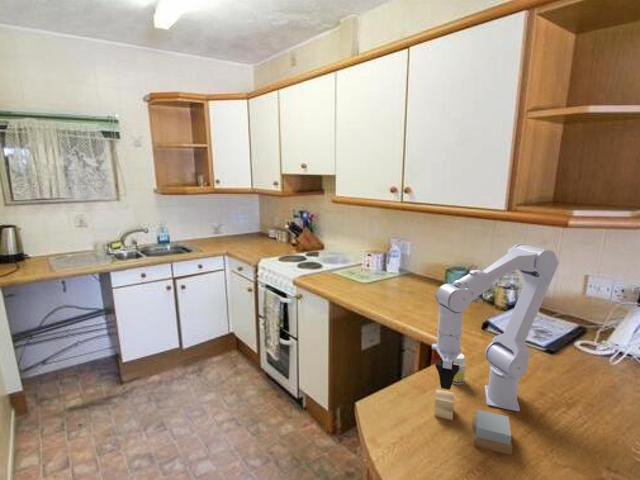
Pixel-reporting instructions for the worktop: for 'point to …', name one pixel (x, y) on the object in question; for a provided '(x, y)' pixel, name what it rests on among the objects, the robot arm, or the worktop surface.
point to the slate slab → (493, 427)
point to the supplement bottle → (461, 373)
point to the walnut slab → (489, 442)
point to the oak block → (444, 404)
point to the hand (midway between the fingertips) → (445, 380)
